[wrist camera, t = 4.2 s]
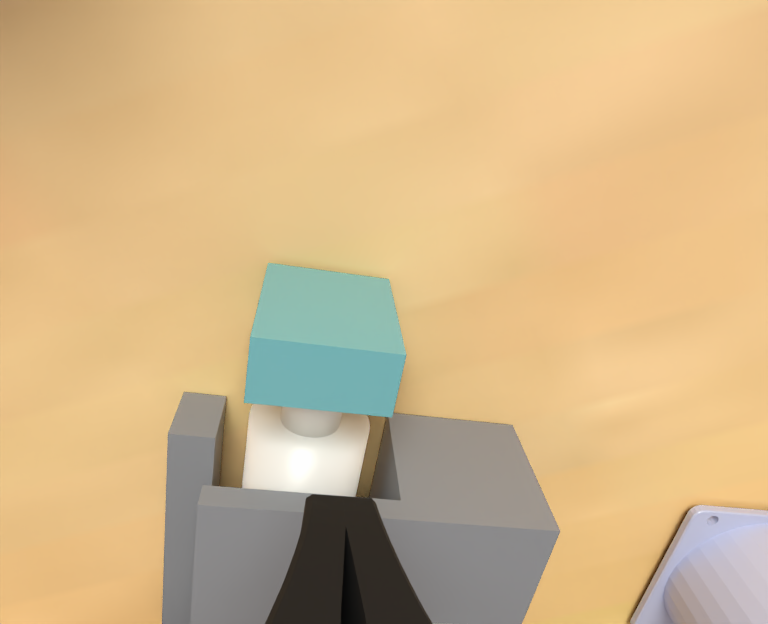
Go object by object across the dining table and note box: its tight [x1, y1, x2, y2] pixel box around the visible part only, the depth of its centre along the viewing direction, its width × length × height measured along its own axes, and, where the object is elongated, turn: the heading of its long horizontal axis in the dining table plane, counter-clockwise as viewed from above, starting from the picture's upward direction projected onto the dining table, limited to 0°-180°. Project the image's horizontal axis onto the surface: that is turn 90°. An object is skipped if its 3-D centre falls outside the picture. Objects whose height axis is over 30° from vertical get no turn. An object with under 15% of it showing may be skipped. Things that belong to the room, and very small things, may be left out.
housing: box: [162, 392, 560, 624], centre depth 23 cm, size 12×12×5 cm
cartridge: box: [242, 263, 406, 497], centre depth 21 cm, size 4×16×5 cm, turn 170°
